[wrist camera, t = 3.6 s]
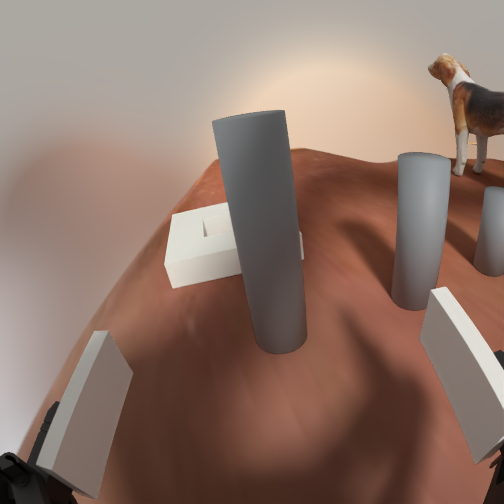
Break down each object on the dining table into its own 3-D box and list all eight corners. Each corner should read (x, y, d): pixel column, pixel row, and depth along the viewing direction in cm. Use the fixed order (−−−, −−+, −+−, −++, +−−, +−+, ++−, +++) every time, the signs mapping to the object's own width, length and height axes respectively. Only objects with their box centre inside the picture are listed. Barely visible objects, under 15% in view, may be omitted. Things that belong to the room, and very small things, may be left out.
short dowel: (488, 252, 27) (499, 184, 23) (511, 270, 24) (527, 198, 20) (466, 261, 27) (477, 188, 23) (490, 280, 23) (506, 203, 20)
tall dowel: (298, 313, 25) (274, 109, 18) (314, 345, 22) (294, 111, 14) (251, 324, 25) (210, 119, 17) (261, 359, 22) (213, 124, 14)
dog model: (447, 158, 61) (442, 56, 49) (587, 230, 25) (599, 73, 13) (418, 161, 60) (410, 51, 48) (568, 241, 24) (581, 59, 13)
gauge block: (273, 212, 45) (270, 193, 43) (304, 259, 33) (301, 233, 31) (177, 233, 44) (172, 214, 42) (172, 288, 32) (164, 264, 30)
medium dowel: (417, 278, 26) (427, 150, 21) (441, 302, 23) (461, 163, 17) (382, 289, 26) (387, 154, 20) (405, 316, 23) (420, 167, 17)
